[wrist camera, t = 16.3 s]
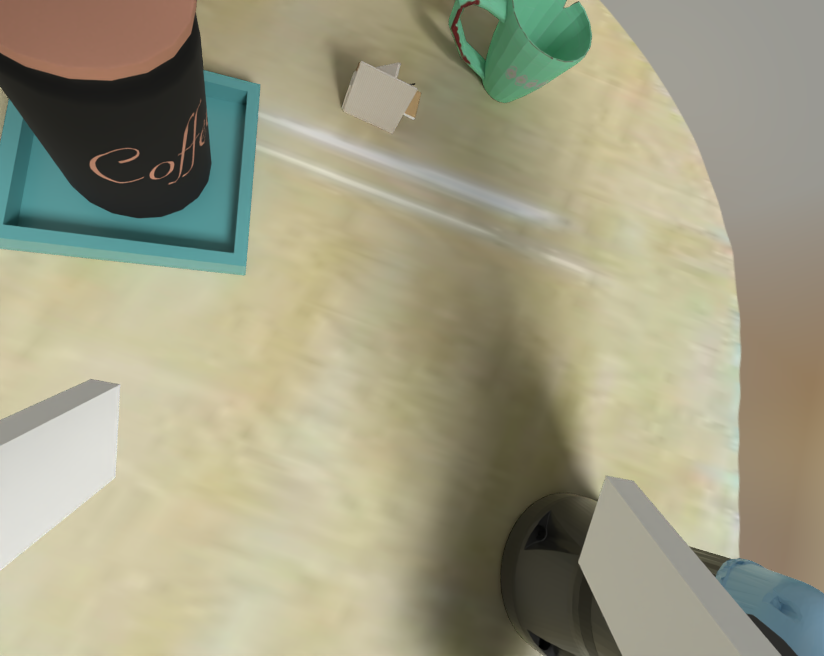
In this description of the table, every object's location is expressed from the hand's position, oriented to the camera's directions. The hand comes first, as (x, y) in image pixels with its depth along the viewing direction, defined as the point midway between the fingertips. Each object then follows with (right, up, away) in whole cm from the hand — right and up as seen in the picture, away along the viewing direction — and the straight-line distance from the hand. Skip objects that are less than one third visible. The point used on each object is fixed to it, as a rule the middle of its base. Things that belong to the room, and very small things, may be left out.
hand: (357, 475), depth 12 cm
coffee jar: (-21, +18, +25) cm, 37 cm away
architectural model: (-3, +26, +35) cm, 44 cm away
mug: (+10, +34, +41) cm, 54 cm away
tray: (-21, +17, +26) cm, 37 cm away
